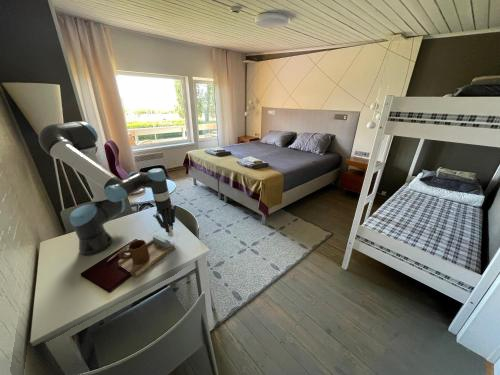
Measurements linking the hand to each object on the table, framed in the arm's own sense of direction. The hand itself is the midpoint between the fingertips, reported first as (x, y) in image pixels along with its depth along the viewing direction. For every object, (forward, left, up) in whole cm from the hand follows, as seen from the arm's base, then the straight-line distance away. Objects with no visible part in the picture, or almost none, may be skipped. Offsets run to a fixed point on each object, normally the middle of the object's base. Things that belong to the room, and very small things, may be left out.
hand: (170, 235), depth 115 cm
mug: (-1, -20, -2) cm, 21 cm away
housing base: (0, -15, -3) cm, 15 cm away
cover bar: (0, -6, -2) cm, 6 cm away
